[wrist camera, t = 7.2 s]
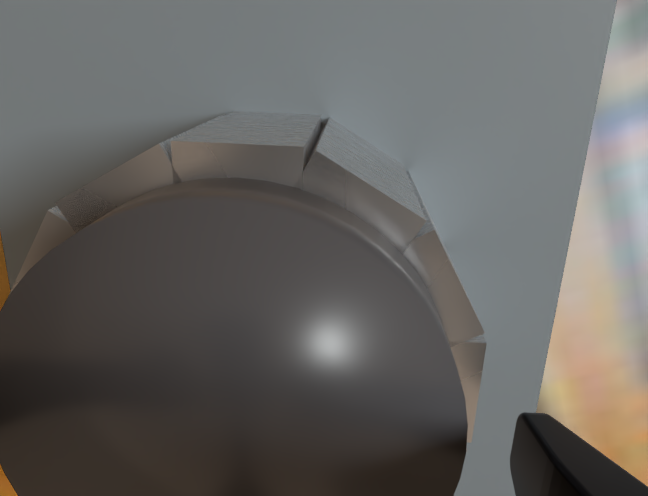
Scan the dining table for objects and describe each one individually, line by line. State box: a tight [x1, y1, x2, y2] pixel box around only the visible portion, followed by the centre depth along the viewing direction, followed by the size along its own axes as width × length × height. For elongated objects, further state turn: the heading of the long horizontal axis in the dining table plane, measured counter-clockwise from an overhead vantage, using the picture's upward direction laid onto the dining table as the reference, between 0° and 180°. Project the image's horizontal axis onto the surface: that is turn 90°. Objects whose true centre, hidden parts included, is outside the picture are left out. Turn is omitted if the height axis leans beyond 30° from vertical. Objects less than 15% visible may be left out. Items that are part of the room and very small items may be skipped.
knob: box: [0, 178, 468, 496], centre depth 10 cm, size 7×7×5 cm
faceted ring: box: [9, 111, 487, 452], centre depth 12 cm, size 8×8×4 cm
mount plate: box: [0, 0, 617, 496], centre depth 14 cm, size 16×14×2 cm
